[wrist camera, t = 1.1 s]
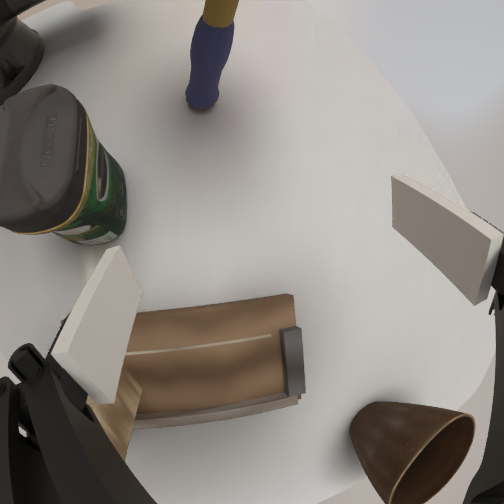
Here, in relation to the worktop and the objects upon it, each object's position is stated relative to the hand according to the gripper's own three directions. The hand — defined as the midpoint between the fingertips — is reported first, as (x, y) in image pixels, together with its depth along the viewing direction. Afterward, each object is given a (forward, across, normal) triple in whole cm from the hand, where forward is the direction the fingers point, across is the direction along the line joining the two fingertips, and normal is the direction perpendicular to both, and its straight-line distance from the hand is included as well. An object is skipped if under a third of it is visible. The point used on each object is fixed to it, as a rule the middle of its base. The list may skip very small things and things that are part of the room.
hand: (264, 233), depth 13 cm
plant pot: (+6, +10, -38) cm, 40 cm away
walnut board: (+10, -12, -18) cm, 24 cm away
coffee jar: (+18, -17, 0) cm, 25 cm away
